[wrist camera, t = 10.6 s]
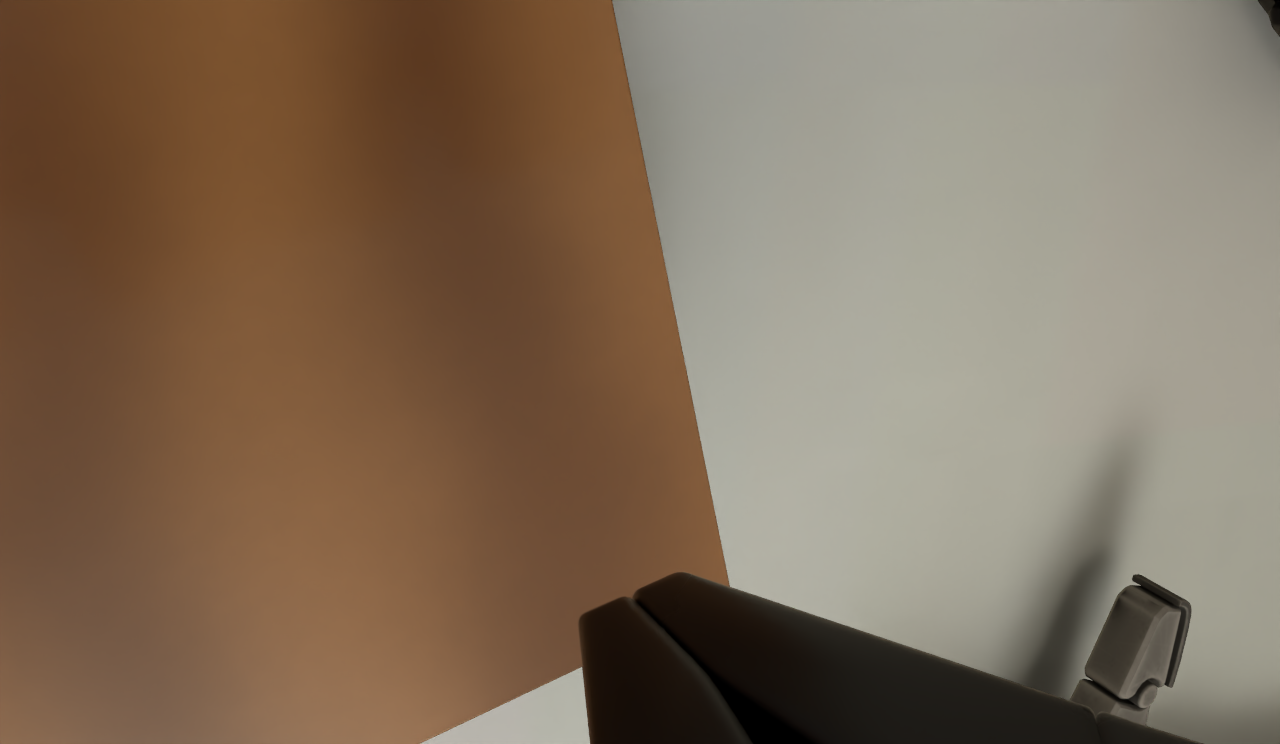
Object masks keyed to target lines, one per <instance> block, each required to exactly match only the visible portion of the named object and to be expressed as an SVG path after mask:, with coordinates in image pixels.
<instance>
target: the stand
mask: <svg viewBox="0 0 1280 744" xmlns="http://www.w3.org/2000/svg"><path fill="white" fill-rule="evenodd" d="M676 572H686V573H690V574H693V575H696V576H699V577H702V578H705V579H708V580H711V581H714V582H717V583H720V584H723V585H726V586H729V587H730V585H729V580H728V575H727V570H726V565H725V560H724V556H723V551H722V546H721V541H720V536H719V531H718V526H717V521H716V516H715V511H714V506H713V501H712V496H711V491H710V486H709V481H708V476H707V471H706V466H705V461H704V456H703V451H702V446H701V441H700V436H699V431H698V426H697V421H696V416H695V411H694V406H693V401H692V396H691V391H690V386H689V381H688V376H687V371H686V366H685V362H684V357H683V352H682V347H681V342H680V337H679V332H678V327H677V322H676V317H675V312H674V307H673V302H672V297H671V292H670V287H669V282H668V277H667V272H666V267H665V262H664V257H663V252H662V247H661V242H660V237H659V232H658V227H657V222H656V217H655V212H654V207H653V202H652V197H651V192H650V187H649V182H648V177H647V172H646V168H645V163H644V158H643V153H642V148H641V143H640V138H639V133H638V128H637V123H636V118H635V113H634V108H633V103H632V98H631V93H630V88H629V83H628V78H627V73H626V68H625V63H624V58H623V53H622V48H621V43H620V38H619V33H618V28H617V23H616V18H615V13H614V8H613V3H612V0H0V744H420V743H422V742H424V741H426V740H428V739H430V738H433V737H435V736H437V735H439V734H441V733H443V732H445V731H447V730H449V729H452V728H454V727H456V726H458V725H460V724H462V723H464V722H466V721H468V720H471V719H473V718H475V717H477V716H479V715H481V714H483V713H485V712H487V711H490V710H492V709H494V708H496V707H498V706H500V705H502V704H504V703H506V702H509V701H511V700H513V699H515V698H517V697H519V696H521V695H523V694H525V693H528V692H530V691H532V690H534V689H536V688H538V687H540V686H542V685H544V684H547V683H549V682H551V681H553V680H555V679H557V678H559V677H561V676H563V675H566V674H568V673H570V672H572V671H574V670H576V669H578V668H580V667H582V659H581V649H580V639H579V630H578V620H579V618H580V616H581V615H582V614H583V613H585V612H587V611H589V610H592V609H594V608H596V607H598V606H601V605H603V604H605V603H607V602H610V601H612V600H614V599H617V598H619V597H624V596H626V597H630V598H632V597H633V594H634V593H635V591H636V590H638V589H639V588H641V587H644V586H646V585H648V584H650V583H653V582H655V581H657V580H659V579H662V578H664V577H666V576H668V575H671V574H673V573H676Z"/></svg>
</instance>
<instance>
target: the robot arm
mask: <svg viewBox="0 0 1280 744" xmlns="http://www.w3.org/2000/svg"><path fill="white" fill-rule="evenodd" d="M1258 1H1259V3H1260V4H1261V6H1262V7H1263V8H1264V10H1265V11H1266V12H1267V14H1268V15H1269V18H1270V21H1271V25H1272V27H1273V29H1274V30H1275V31H1276V33H1277V34H1278V35H1279V37H1280V0H1258ZM578 630H579V639H580V649H581V659H582V669H583V678H584V688H585V698H586V708H587V717H588V727H589V737H590V744H1203V743H1200V742H1196V741H1193V740H1190V739H1187V738H1183V737H1180V736H1177V735H1174V734H1170V733H1167V732H1164V731H1161V730H1158V729H1154V728H1151V727H1148V726H1145V725H1143V724H1140V723H1137V722H1134V721H1131V720H1128V719H1125V718H1122V717H1119V716H1116V715H1113V714H1110V713H1107V712H1099V713H1098V714H1097V715H1096V718H1095V716H1094V712H1093V711H1092V709H1091V708H1090V707H1087V706H1084V705H1081V704H1078V703H1075V702H1072V701H1069V700H1066V699H1064V698H1061V697H1058V696H1055V695H1052V694H1049V693H1046V692H1043V691H1040V690H1037V689H1034V688H1031V687H1028V686H1025V685H1022V684H1019V683H1016V682H1013V681H1010V680H1007V679H1004V678H1001V677H998V676H995V675H992V674H989V673H986V672H983V671H980V670H977V669H974V668H971V667H968V666H965V665H962V664H959V663H956V662H953V661H950V660H947V659H944V658H941V657H938V656H935V655H932V654H929V653H926V652H923V651H920V650H917V649H914V648H911V647H908V646H905V645H902V644H899V643H896V642H893V641H890V640H887V639H884V638H881V637H878V636H875V635H872V634H869V633H866V632H863V631H860V630H857V629H854V628H851V627H848V626H845V625H842V624H839V623H836V622H833V621H830V620H827V619H824V618H821V617H818V616H815V615H812V614H809V613H806V612H803V611H800V610H797V609H794V608H791V607H789V606H786V605H783V604H780V603H777V602H774V601H771V600H768V599H765V598H762V597H759V596H756V595H753V594H750V593H747V592H744V591H741V590H738V589H735V588H732V587H729V586H726V585H723V584H720V583H717V582H714V581H711V580H708V579H705V578H702V577H699V576H696V575H693V574H690V573H686V572H676V573H673V574H671V575H668V576H666V577H664V578H662V579H659V580H657V581H655V582H653V583H650V584H648V585H646V586H644V587H641V588H639V589H638V590H636V591H635V593H634V594H633V597H632V598H630V597H626V596H624V597H619V598H617V599H614V600H612V601H610V602H607V603H605V604H603V605H601V606H598V607H596V608H594V609H592V610H589V611H587V612H585V613H583V614H582V615H581V616H580V618H579V620H578Z"/></svg>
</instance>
